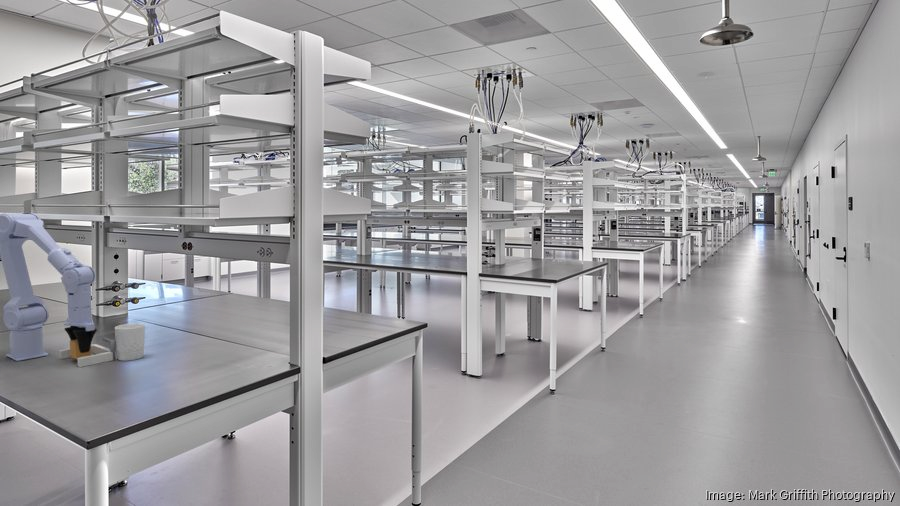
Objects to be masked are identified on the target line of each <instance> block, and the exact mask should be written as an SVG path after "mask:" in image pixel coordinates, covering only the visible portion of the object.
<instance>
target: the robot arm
mask: <svg viewBox="0 0 900 506" xmlns="http://www.w3.org/2000/svg"><path fill="white" fill-rule="evenodd" d="M28 240H31V241H32V242H34V243H35V244H36V246H38V248H40V249H41V250H42V251H44V252H45V253H46V254H47V261H48V262H49V263H50V265H51V266H52V267H53V268H55V270H57V272H58V273H59V274H60V275H61V276H60V279H61V283H62V284H63V286H64V290H65V293H66V294H67V297H66V298H67V314H68V315H67V318H66V321H65V322H63V325H64V326H66V327H64V331H65V332H66V334H67V335H68V337H69V339H70V340H69V341H71V340H76V339H77V341H78V346H79V350H80V353H84V352H89V350H90V346H91V345H92V341H93V338H94V336H95V335H96V333H97V331H98V328H95V323H94V320H93V315H92V313H93V312H92V286H91V284H93V283H94V281H95V279H96V273H95V270H94V269H93V268H92V267H91V265H85V264H84V263H82V262H80V261H79V260H78V259H77V258H76V256H75V255H73V254H72V251H71V250H70V249H68V248H65V247H62V248H61V247H60V246H59V244H57V242H56V241H55V240H54V239H53V237H52V236H51V235H50V233H49V232H48V231H47V230H46V229H45V224H44V220H42V219H41V218H40V217H39V216H38V214H36V213H7V212H5V213H4V212H3V213H0V260H1V264H2V268H3V272H4V276H5V279H6V280H5V281H6V284H7V288H8V291H9V296H10V300H9V301H8V302H7V303H6V304H5V305H4V306H3V307H2V310H3V323H4V325H5V327H6V328H8V330H9V331H10V333H9V337H8V338H9V351H10V353H7V354H5V356H6V357H7V358H10V359H12V360H14V361H15V362H19V361H25V360H30V359H36V358H42V357H47V356H49V355H50V354H49V353H48V352H46V351H44V338H43V337H44V336H43V327H45V324H46V323H47V322H48V320H49V317H50V313H49V310H48V308H47V307H46V306H45V303H44V300H43V299H42V298H41V297H38V296H37V295H35V294H34V291H33V286H32V283H31V282H32V281H31V278H30V274H29V269H28V266H27V262H26V258H25V254H24V250H23V244H25V242H27V241H28ZM23 306H24V307H23ZM67 326H68V327H67Z"/></svg>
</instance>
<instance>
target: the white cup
mask: <svg viewBox="0 0 900 506" xmlns="http://www.w3.org/2000/svg"><path fill="white" fill-rule="evenodd" d="M145 329H146V325H145V323H135V322H134V323H124V324H120V325H117V326H116V325H115V327H114V335H115V337H114V338H115V343H116V352H117V359H118V360H119V361H124V362H127V361H135V360H139V359H142V358H143V357H144V356H145V354H144V353H145V352H144V350H145V339H146V336H145V333H146V330H145Z"/></svg>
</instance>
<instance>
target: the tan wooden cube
mask: <svg viewBox="0 0 900 506" xmlns="http://www.w3.org/2000/svg"><path fill="white" fill-rule="evenodd" d="M69 349H70V356H71V357H70V358H72V359H75V360H77V358H81V357H86V356H91V355H92V353H91V346H90V350H89V352H84V353H80V350H79V346H78V341H77V339H76V340H69Z"/></svg>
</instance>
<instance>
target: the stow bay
mask: <svg viewBox="0 0 900 506" xmlns="http://www.w3.org/2000/svg"><path fill="white" fill-rule="evenodd" d="M101 341H104V342H106V343H108V344H109V348H108V347H105V346H102V345H100V344H98V343H95V344H91V356H86V357H81V358H77V359H76V360H77V367H78V368H81V367H88V366H92V365H97V364H101V363H102V364H103V363H106V362H110V361H115V360H116V361H117V347H116V339H112V338H111V339H110V338H108V337H105V336H103V337H102V338H101ZM58 353H59V359H60V360H63V359H68V358H69V359H70V358H72V357H71V356H70V348H65V349H60V350H59V351H58Z"/></svg>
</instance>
